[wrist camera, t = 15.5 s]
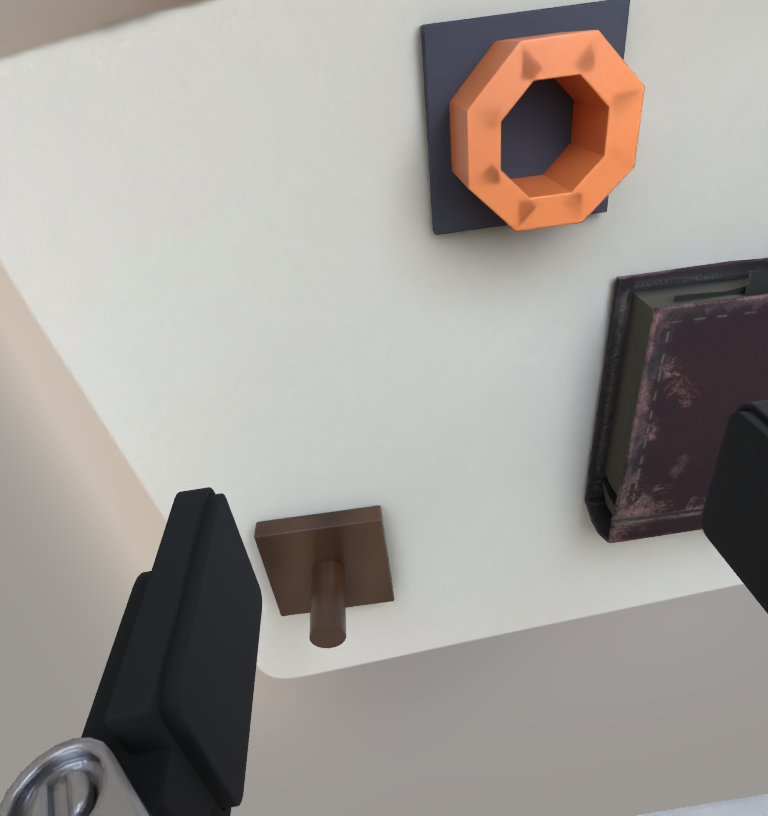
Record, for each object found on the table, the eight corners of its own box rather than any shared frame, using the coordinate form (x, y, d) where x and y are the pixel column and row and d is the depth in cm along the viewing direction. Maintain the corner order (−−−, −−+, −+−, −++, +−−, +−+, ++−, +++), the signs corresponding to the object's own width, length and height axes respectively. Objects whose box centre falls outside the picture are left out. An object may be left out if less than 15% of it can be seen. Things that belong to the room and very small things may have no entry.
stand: (282, 600, 45) (275, 684, 39) (256, 521, 40) (243, 603, 34) (392, 585, 45) (401, 666, 39) (380, 504, 40) (388, 583, 34)
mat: (432, 231, 29) (435, 235, 29) (420, 25, 24) (422, 24, 24) (600, 208, 29) (607, 212, 29) (622, -2, 24) (631, -4, 24)
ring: (453, 215, 28) (469, 238, 25) (446, 47, 24) (465, 47, 21) (593, 196, 28) (628, 216, 25) (609, 25, 24) (654, 22, 21)
